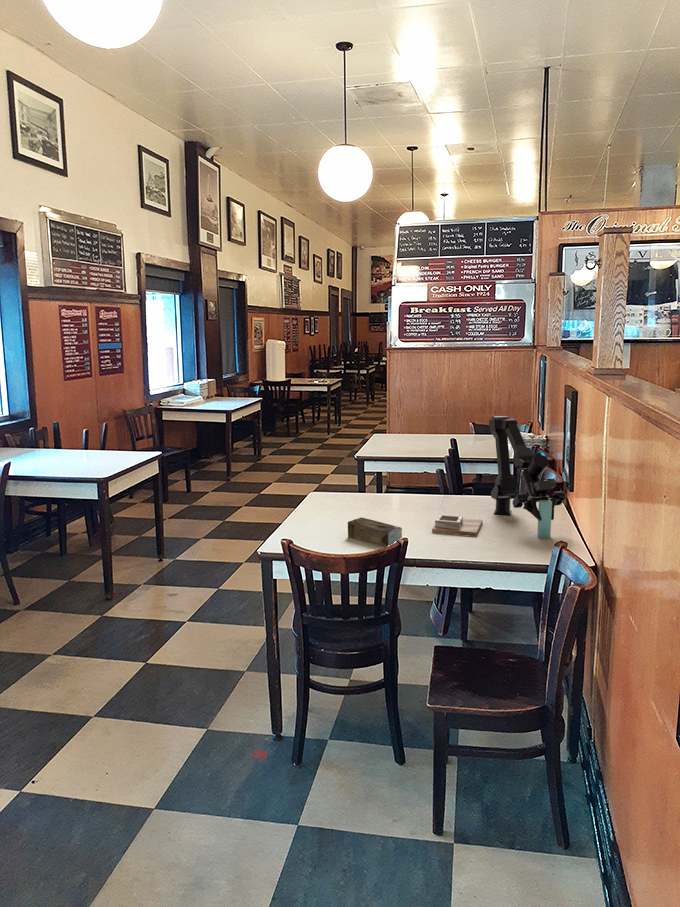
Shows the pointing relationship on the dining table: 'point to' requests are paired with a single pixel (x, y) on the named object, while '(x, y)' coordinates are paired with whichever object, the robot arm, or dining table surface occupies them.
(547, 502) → the post
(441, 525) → the base board
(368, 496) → the dining table surface
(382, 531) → the beverage carton
